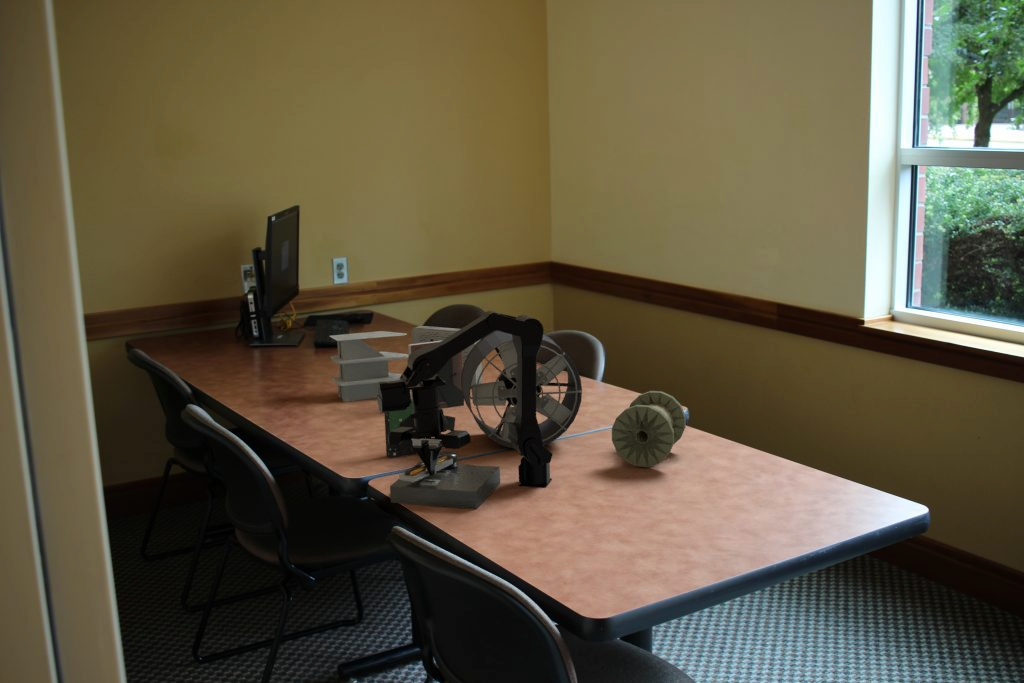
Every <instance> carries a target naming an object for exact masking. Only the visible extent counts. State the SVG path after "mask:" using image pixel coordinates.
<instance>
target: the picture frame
mask: <svg viewBox="0 0 1024 683" xmlns="http://www.w3.org/2000/svg"><path fill="white" fill-rule="evenodd" d="M441 341H442V340H441ZM438 342H440V341H433V342H425V343H417V344H412V343H410V344H408V345H407V346H408V356H409V355H410V354H411V353H412V352H413V351H415V350H418V349H420V348H423V347H425V346H428V345H431V344H435V343H438ZM461 373H462V351H461V352H460V353H458V354H457V355H455V356H454V357H452V358H451V359H450V360H449V361H448V362H447V364H446V365H445V366H444V367H443V368H442V369H441V370H440V371H439V372H438V373H437V375H438V376H439V377H440V378H441V379H442V380H443V381H444V382H446V385H444V386H437V391H438V402H439V409H442V410H443V409H448V408H455V407H456V408H458V407H463V406H465V400H464V397H463V395H462V388H461ZM433 377H434V376H433ZM433 377H432V378H433ZM430 379H431V378H430ZM410 395H411V399H412V390H410Z"/></svg>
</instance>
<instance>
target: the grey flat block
mask: <svg viewBox="0 0 1024 683" xmlns="http://www.w3.org/2000/svg"><path fill="white" fill-rule="evenodd" d="M421 463H423V462H422V461H419V462H418V463H417V464H415V465H413V467H415V466H417V465H419V464H421ZM500 484H501V467H500V466H496V465H494V466H493V465H477V464H462V463H461V464H460V463H458V465H457V466H456V467H452V468H443V469H441V470H439V471H436V472H435V474H434V475H428V476H426V477H424V478H422V479H420V480H418V481H416V482H409V481H403V480H399V478H398V479H397V480H396V481H394V482H393V483H391V484H390V486H389V491H390V503H393V504H402V505H404V504H405V505H414V506H425V507H437V508H438V507H439V508H440V507H441V508H453V509H469V510H470V509H471V510H477V509H478V508H479V507H480V506H481V505H482V504H483V503H484V502H485V500H487V498H488V497H489V496H490V495H491V494H492V493H493V492H494V491H495V490H496V489H497V487H498V486H499V485H500Z"/></svg>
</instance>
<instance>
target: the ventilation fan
mask: <svg viewBox="0 0 1024 683" xmlns="http://www.w3.org/2000/svg"><path fill="white" fill-rule="evenodd" d="M542 342H546V343H548V344H551V345H552V346H555V347H556V348H557V349H558V350H559V351H560V353H558V352H557V351H555V350H554V349H551V348H549V347H547V346H545V345H541V347H540V348H543V349H545V350H548V351H550V352H552V353H554V354H555V355H556V356H553V358H552V359H550V360H548V361H547V362H545V363H544V364H543V363H541V362H538V361H537V365H539V366H540V367H538V368H537V379H536V413H539V414H540V415H541V416H544V417H545V418H546V419H545V420H543V421H541V422H540V423H538V424H539V428H540V431H541V437H542V443H543V446H544V447H545V445H549V444H550V443H552V442H554V441H555V440H557V439H559V438H560V437H561V436H563V434H564V433H565V432H566V431H567V430H568V429H569V428H570V427H571V425H572V424H573V422H574V421H575V419H576V417H577V415H578V413H579V410H580V407H581V404H582V399H583V398H582V396H583V388H582V380H581V376H580V374H579V370H578V368H577V366H576V365H575V362H574V361H573V359H572V358H571V357H570V356H569V355H568V354H567V353H566V351H564V350H563V349H562V348H561V347H560V346H559V345H558V344H557V343H556V342H555V341H554V339H552V338H551V337H549V336H548V335H547V334H546V333H545V332H544V333H543V339H542ZM493 351H495V352H496V354H495V355H494V356H493V357H491V359H488V358H487V356H488V355H489V354H490V353H492V352H493ZM496 357H499V359H500V360H501V362H502V364H503V369H502V370H501V369H500V368H499V367H498V366H496V365H495V364H494V363H493V362H492V361H494V359H495V358H496ZM484 359H485V360H486V361H487V363H486V364H485V366H484V367H482V372H481V374H480V376H479V378H478V381H477V384H475V385H472V387H471V383H472V380H473V376H474V374H475V372H476V370H477V368H478V366H479V365H480V363H481V362H482V363H483V361H484ZM488 365H491V366H492V367H494V368H495V369H496V370H497V371H498V372H499V373H500V374H499V375H498V376H497V378H496V380H495V381H491V382H484V383H483V382H482V383H481V384H479V380H480V378H481V375H482V376H483V373H484V371H485V370H486V369H487V367H488ZM565 369H566V371H567V382H559V379H558V377H557V376H558V375H560V374H561V373H562V372H563V371H564V370H565ZM554 379H555V381H556V382H552V381H553V380H554ZM542 386H544V387H558V391H548V392H544V390H543V387H542ZM561 387H566V390H565V391H561ZM461 388H462V395H463V397H464V404H465V405H466V407H467V408H468V410H469V412H470V413H471V416H472V417H473V419H474V421H475V423H476V424H477V426H478V427H479V429H480V430H481V431H482V432H483V433H484V434H485V436H487V437H488V438H490V440H492V441H494V442H495V443H497V444H499V445H501V446H503V447H506V448H510V449H515V448H514V447H513V446H512V444H511V441H510V440H509V439H508V435H509V426H508V422H514V421H515V418H516V416H517V352H516V349H515V346H514V343H513V338H512V334H508V333H505V332H501V331H497V330H495V331H493V332H492V333H490V334H489V335H487V336H485V337H484V338H482V339H481V340H480V341H479V342H477V343H476V344H475V346H474V347H473V348H472V350H471V351H470V352H469V354H468V356H467V358H466V360H465V362H464V365H463V369H462V373H461ZM561 394H564V397H563V398H562V401H561ZM552 395H558V399H556V398H554V397H553V396H552ZM540 396H541V397H540ZM471 400H472V402H471ZM471 403H472V404H473V406H475V408H476V411H477V414H478V416H479V418H478V416H477V415H476V414H475V413H474V412H473V409H472V404H471ZM506 404H507V405H506ZM479 406H480V407H481V406H482V407H483V406H484V407H488V406H490V407H491V406H492V407H494V411H495V413H497V415H498V416H499V418H500V419H501V420H500V422H499V424H497V426H496V427H495V428H494V427H492V426H490V425H488V424H486V422H485V421H484V419H483V417H482V416H481V415H482V414H481V413H480V410H479ZM497 406H501V407H502V406H503V407H505V406H506V407H505V409H504V412H503V415H501V414H500V412H499V411H498V408H497ZM515 450H516V449H515Z"/></svg>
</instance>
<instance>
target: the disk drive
mask: <svg viewBox="0 0 1024 683" xmlns="http://www.w3.org/2000/svg"><path fill="white" fill-rule="evenodd" d="M411 413H414V412H413V401H412V399H411V404H410V405H409V407H407V409H406V410H401V411H394V412H386V413H383V415H384V429H385V432H384V433H385V449H386V450H385V451H386V457H387V458H389V459H396V458H401V456H402V457H407V455H408V456H411V454H412V455H415V454H416V452H415V450H412V449H411V447H412V446H413V442H412V440H402V442H401V444H399V445H392V444H389V442H388V435H389V433H390V431H393V430H395V429H398V428H400V427H412V428H414V429H415V423H414V418H411V417H410V414H411Z"/></svg>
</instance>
